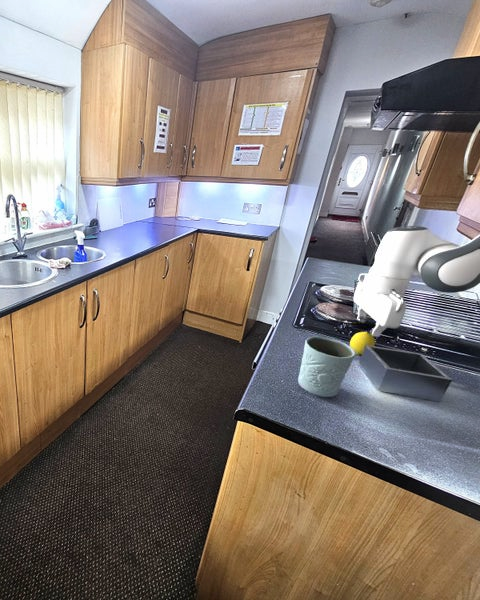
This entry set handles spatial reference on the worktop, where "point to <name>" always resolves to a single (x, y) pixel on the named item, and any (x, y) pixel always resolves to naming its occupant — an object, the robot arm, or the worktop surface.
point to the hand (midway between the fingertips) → (367, 328)
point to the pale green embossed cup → (324, 365)
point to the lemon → (361, 341)
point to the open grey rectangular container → (403, 373)
